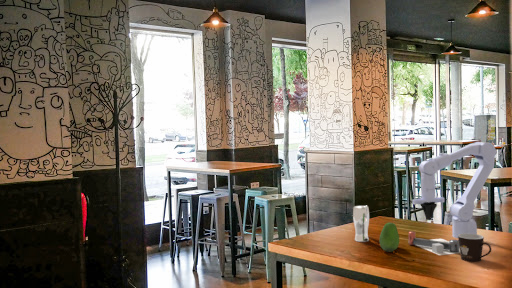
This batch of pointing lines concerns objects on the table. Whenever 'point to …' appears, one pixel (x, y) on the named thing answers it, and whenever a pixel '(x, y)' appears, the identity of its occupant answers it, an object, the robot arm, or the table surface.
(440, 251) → the white flat block
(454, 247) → the lever
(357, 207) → the beer glass
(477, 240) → the coffee mug
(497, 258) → the table surface
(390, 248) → the avocado
